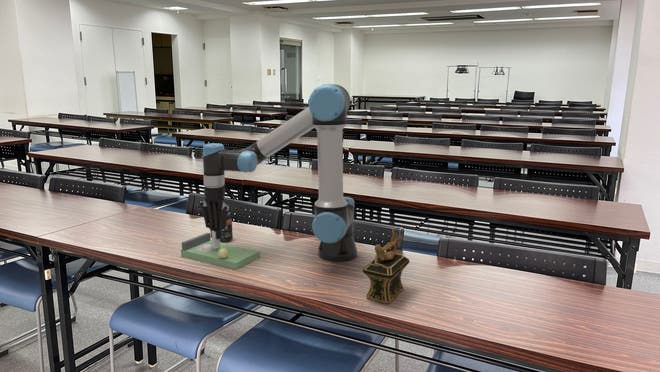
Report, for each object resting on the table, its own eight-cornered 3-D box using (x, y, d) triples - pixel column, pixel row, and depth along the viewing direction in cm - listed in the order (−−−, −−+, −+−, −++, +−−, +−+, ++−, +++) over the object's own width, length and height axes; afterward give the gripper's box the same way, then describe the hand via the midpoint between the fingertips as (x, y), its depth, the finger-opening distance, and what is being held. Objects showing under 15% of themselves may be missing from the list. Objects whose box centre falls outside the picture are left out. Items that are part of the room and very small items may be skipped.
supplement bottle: (226, 237, 199) (226, 211, 197) (235, 240, 196) (235, 214, 193) (215, 240, 195) (214, 214, 193) (224, 243, 191) (223, 216, 189)
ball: (209, 241, 180) (204, 246, 182) (202, 244, 177) (198, 250, 179) (215, 248, 179) (210, 253, 181) (208, 251, 176) (204, 257, 178)
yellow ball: (230, 257, 169) (230, 247, 169) (223, 260, 166) (223, 250, 165) (222, 255, 171) (222, 246, 170) (216, 258, 168) (215, 249, 167)
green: (259, 257, 177) (259, 243, 176) (236, 269, 165) (235, 254, 163) (206, 245, 188) (206, 232, 187) (181, 256, 176) (180, 242, 175)
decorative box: (389, 308, 139) (393, 245, 135) (360, 300, 143) (363, 239, 139) (412, 284, 156) (416, 228, 152) (385, 278, 161) (388, 223, 156)
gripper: (234, 186, 172) (236, 246, 177) (207, 182, 178) (209, 240, 183) (221, 189, 166) (223, 252, 170) (193, 185, 171) (196, 246, 176)
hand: (216, 246), depth 177 cm, fingers closed
